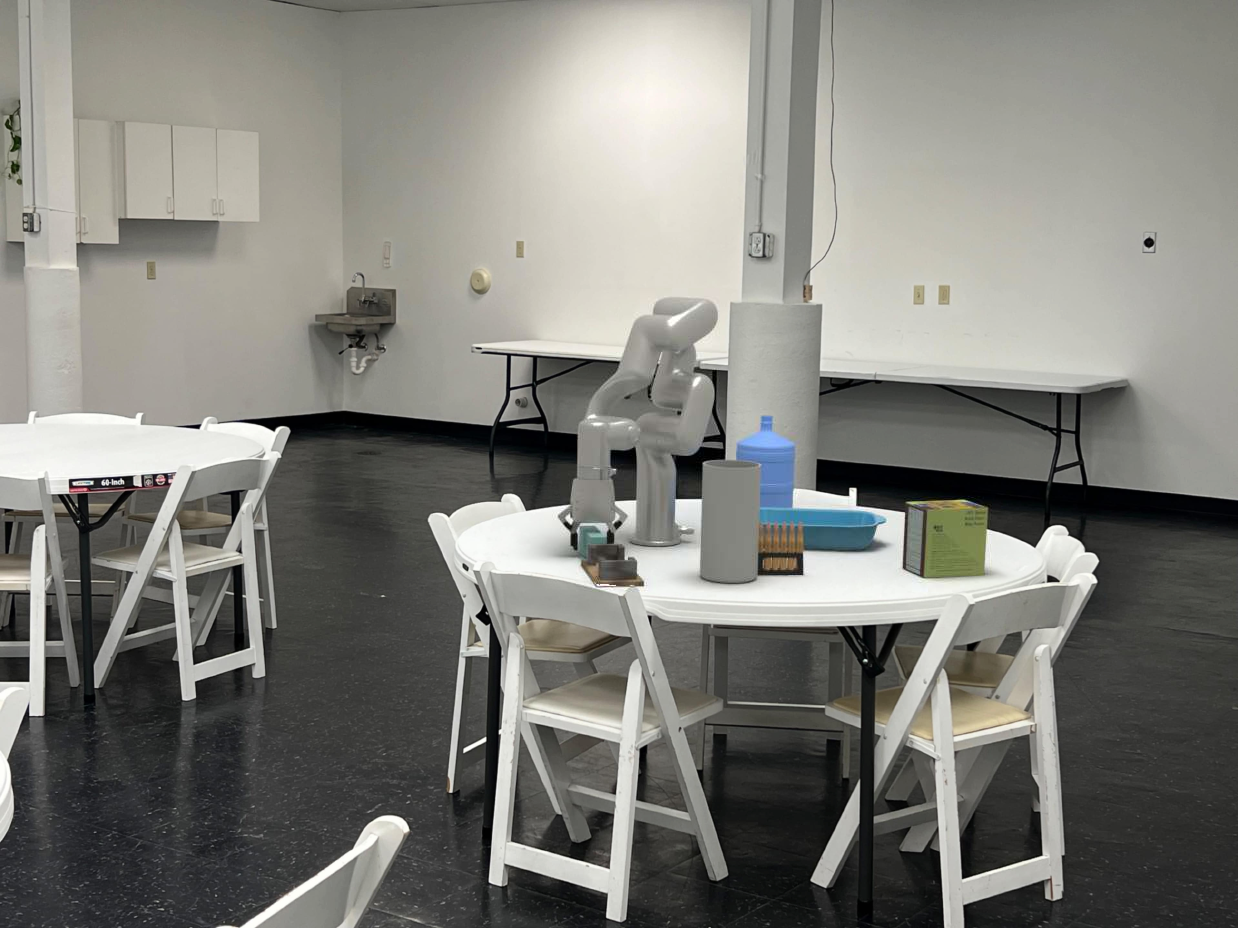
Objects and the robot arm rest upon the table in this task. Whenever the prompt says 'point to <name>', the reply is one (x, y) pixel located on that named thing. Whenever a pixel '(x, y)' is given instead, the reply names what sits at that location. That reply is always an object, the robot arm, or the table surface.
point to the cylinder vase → (730, 521)
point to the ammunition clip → (782, 559)
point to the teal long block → (589, 538)
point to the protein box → (945, 538)
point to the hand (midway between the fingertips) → (592, 548)
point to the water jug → (771, 464)
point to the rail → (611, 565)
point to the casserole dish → (825, 526)
